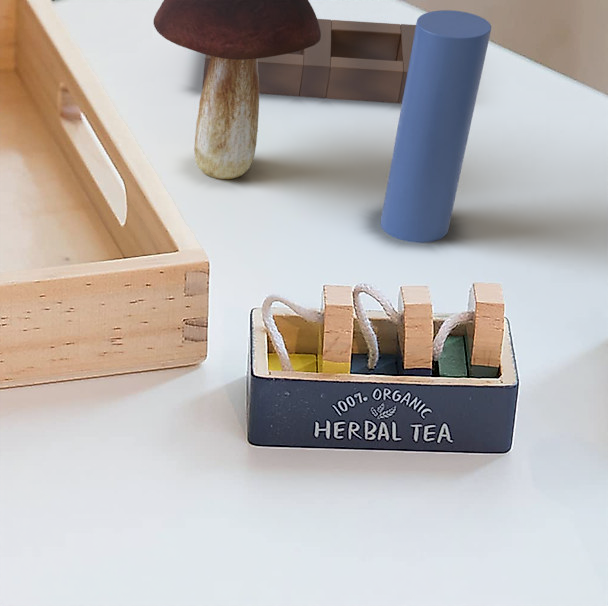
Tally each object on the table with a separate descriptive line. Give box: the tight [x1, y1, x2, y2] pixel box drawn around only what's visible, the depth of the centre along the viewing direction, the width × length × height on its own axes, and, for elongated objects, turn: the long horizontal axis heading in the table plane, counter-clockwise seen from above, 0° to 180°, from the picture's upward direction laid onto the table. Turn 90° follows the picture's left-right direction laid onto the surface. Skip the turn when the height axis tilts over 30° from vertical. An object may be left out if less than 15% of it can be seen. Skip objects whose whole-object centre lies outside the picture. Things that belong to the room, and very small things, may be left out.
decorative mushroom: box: [153, 0, 321, 180], centre depth 102 cm, size 11×11×15 cm
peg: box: [380, 9, 492, 243], centre depth 97 cm, size 4×4×14 cm
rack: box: [201, 18, 416, 105], centre depth 119 cm, size 17×9×3 cm, turn 80°
